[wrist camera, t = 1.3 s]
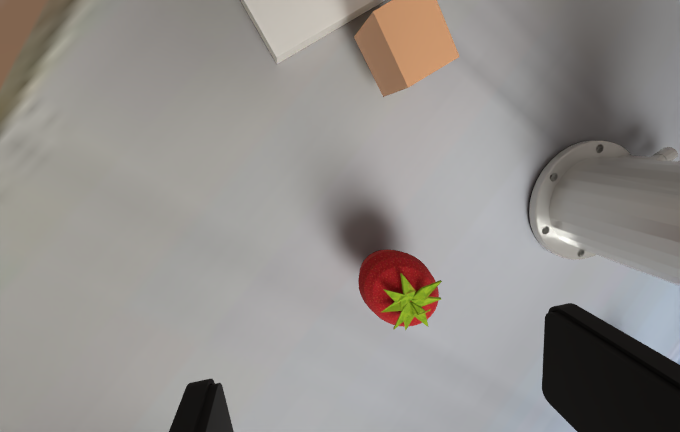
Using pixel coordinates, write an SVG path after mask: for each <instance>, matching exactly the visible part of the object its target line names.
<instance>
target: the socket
mask: <svg viewBox="0 0 680 432" xmlns="http://www.w3.org/2000/svg"><path fill="white" fill-rule="evenodd" d="M240 1H241V3H242V4H243V6H244V8H245V10H246V11H247V13H248V15H249V17H250V18H251V20H252V22H253V24H254V25H255V27H256V29H257V31H258V32H259V34H260V36H261V37H262V39H263V41H264V43H265V44H266V46H267V48H268V50H269V51H270V53H271V55H272V57H273V58H274V60H275V62H276V64H279V63H280V62H282V61H284V60H285V59H287V58H289V57H290V56H292V55H294V54H295V53H297V52H299V51H301V50H302V49H304V48H306V47H307V46H309V45H311V44H312V43H314V42H316V41H317V40H319V39H321V38H323V37H324V36H326V35H328V34H329V33H331V32H333V31H334V30H336V29H338V28H339V27H341V26H343V25H345V24H346V23H348V22H350V21H351V20H353V19H355V18H356V17H358V16H360V15H362V14H363V13H365V12H367V11H368V10H370V9H372V8H373V7H375V6H377V5H378V4H380V3H382V2H384V1H385V0H240Z"/></svg>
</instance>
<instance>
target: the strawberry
mask: <svg viewBox="0 0 680 432" xmlns="http://www.w3.org/2000/svg"><path fill="white" fill-rule="evenodd" d="M441 282H442V281H441V280H440V281H437V282H435V280H434V278H433V276H432V275H431V273H430V272H429V270H428V269H427V267H426V266H425V265H424V264H423V263H422V262H421V261H420V260H418V259H417V258H416V257H414V256H412V255H410V254H408V253H404V252H400V251H395V250H379V251H376V252H374V253H372V254H370V255H369V256H368V257H367V258H366V259H365V260H364V261H363V263H362V265H361V268H360V273H359V290H360V293H361V296H362V298H363V300H364V302H365V303H366V304H367V306H368V307H369V308H370V309H371V310H372V311H373V312H374V313H375V314H376V315H377V316H378V317H379V318H381V319H382V320H384V321H386V322H388V323H390V324H393V325H395V326H394V329H395V328H396V327H398V326H405V330H406V329H407V327H408V326H414V325H417V324H420V323H424V324H425V325H426V326H428V323H427V319H428V318H429V317H430V316H431V315H432V314H433V312H434V311H435V309H436V307H437V304H438V300H440V299H441V297H439V294H438V287H437V286H438V285H439V284H440V283H441Z"/></svg>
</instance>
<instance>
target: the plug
mask: <svg viewBox="0 0 680 432" xmlns="http://www.w3.org/2000/svg"><path fill="white" fill-rule="evenodd" d="M354 38H355V40H356V42H357V44H358V46H359V48H360V50H361V52H362V54H363V56H364V58H365V61H366V63H367V65H368V67H369V69H370V71H371V73H372V75H373V77H374V79H375V81H376V83H377V85H378V87H379V89H380V91H381V93H382V95H383V97H384V96H387V95H390V94H392V93H395V92H397V91H400V90H403V89H405V88H408V87H410V86H411V85H413V84H415V83H416V82H418V81H420V80H421V79H423V78H425V77H426V76H428V75H430V74H431V73H433V72H435V71H436V70H438V69H440V68H441V67H443V66H445V65H446V64H448V63H450V62H451V61H453V60H455V59H456V58H458V57H459V54H458V52H457V49H456V47H455V44H454V42H453V39H452V37H451V34H450V32H449V29H448V27H447V24H446V22H445V20H444V17H443V15H442V12H441V10H440V7H439V5H438V2H437V0H392V1H390V2H388V3H387V4H385V5H383V6H381V7H380V8H378V9H376V10H375V11H373V12H372V14H371V15H370V16H369V18H368V19H367V20H366V22H365V23H364V24H363V26H362V27H361V28H360V30H359V31H358V32H357V34H356V35H355V36H354Z"/></svg>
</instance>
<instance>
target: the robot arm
mask: <svg viewBox="0 0 680 432" xmlns="http://www.w3.org/2000/svg"><path fill="white" fill-rule="evenodd" d="M677 156H678V153H677V151H676V150H675V149H673V148H671V147H666V148H663V149H662V150H660V151H659V152H657V153H655V154H654V155H653V156H652V157H647V156H631V155H630V153H629V152H628V151H627V150H625V149H624V148H623V147H622V146H620V145H617V144H615V143H613V142H608V141H591V140H590V141H585V142H579V143H577V144H574V145H572V146H569V147H568V148H566V149H565V150H563V151H561V152H560V153H559V154H557V155H556V156H555V157H554V158H553V159H552V160H551V161H550V162H549V163H548V164H547V166H546V167H545V168H544V169H543V171H542V172H541V174H540V176H539V178H538V179H537V181H536V184H535V186H534V189H533V191H532V195H531V200H530V209H529V216H530V224H531V227H532V230H533V233H534V235H535V237H536V239H537V240H538V242H539V243H540V244H541V245H542V246H543V247H544V248H545V249H546V250H548V251H549V252H551V253H553V254H555V255H558V256H560V257H562V258H567V259H572V260H580V259H585V258H590V257H593V256H595V255H599V256H601V257H604V258H607V259H609V260H612V261H615V262H617V263H620V264H622V265H625V266H628V267H630V268H633V269H636V270H638V271H641V272H644V273H646V274H649V275H652V276H654V277H657V278H660V279H662V280H665V281H668V282H670V283H673V284H676V285H678V286H680V161H678V162H677V161H672V160H674V159H675V158H676V157H677ZM542 391H543V394H544V396H545V398H546V400H547V401H548V402H549V404H550V405H551V406H552V407H553V408H554V409H555V410H556V411H557V412H558V413H559V414H560V415H561V416H562V417H563V418H564V419H565V420H566V421H567V422H568V423H569V424H570V425H571V426H572V427H573V428H574V429H575V430H576V431H577V432H680V365H679V364H677V363H675V362H674V361H672V360H670V359H669V358H667V357H665V356H663V355H662V354H660V353H658V352H656V351H655V350H653V349H651V348H649V347H648V346H646V345H644V344H643V343H641V342H639V341H637V340H636V339H634V338H632V337H630V336H629V335H627V334H625V333H624V332H622V331H620V330H618V329H617V328H615V327H613V326H611V325H610V324H608V323H606V322H605V321H603V320H601V319H599V318H598V317H596V316H594V315H592V314H591V313H589V312H587V311H586V310H584V309H582V308H580V307H579V306H577V305H575V304H572V303H568V304H564V305H559V306H554V307H551V308H550V309H549V312H548V314H546V316H545V330H544V354H543V378H542ZM169 432H233V428H232V424H231V420H230V416H229V412H228V407H227V403H226V399H225V395H224V391H223V387H222V385H221V383H217V384H215V383H214V381H213V379H207V380H202V381H198V382H193V383H189V384H188V385H187V387H186V389H185V392H184V394H183V397H182V400H181V402H180V405H179V407H178V410H177V412H176V415H175V418H174V420H173V423H172V425H171V428H170V431H169Z"/></svg>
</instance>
